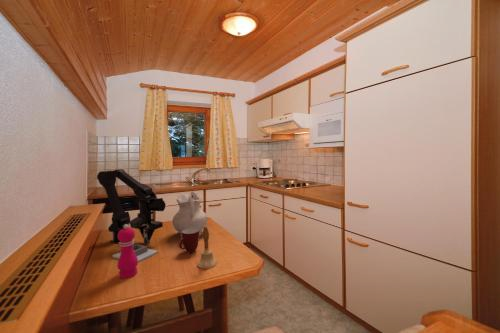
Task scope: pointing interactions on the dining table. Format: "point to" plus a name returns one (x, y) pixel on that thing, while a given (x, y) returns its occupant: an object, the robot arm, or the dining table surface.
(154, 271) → the dining table surface
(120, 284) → the dining table surface
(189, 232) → the mug
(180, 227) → the ceramic pitcher
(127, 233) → the pepper mill
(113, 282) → the dining table surface
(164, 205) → the robot arm
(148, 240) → the pin
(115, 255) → the grey plate with socket
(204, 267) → the hand bell
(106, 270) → the dining table surface
